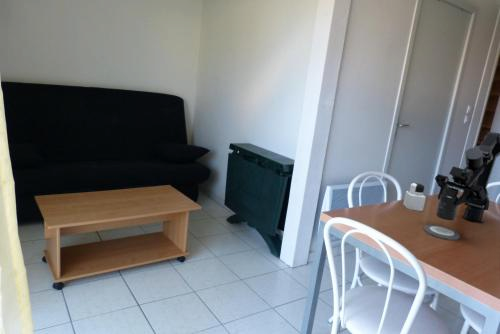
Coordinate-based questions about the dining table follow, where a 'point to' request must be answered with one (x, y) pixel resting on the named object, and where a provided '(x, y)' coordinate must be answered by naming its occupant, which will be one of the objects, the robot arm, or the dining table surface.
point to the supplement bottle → (447, 204)
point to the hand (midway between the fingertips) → (446, 202)
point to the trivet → (441, 232)
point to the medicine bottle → (415, 197)
